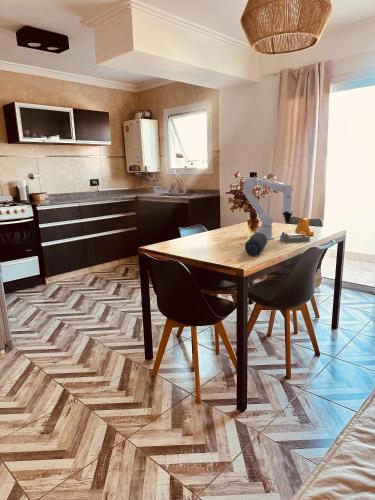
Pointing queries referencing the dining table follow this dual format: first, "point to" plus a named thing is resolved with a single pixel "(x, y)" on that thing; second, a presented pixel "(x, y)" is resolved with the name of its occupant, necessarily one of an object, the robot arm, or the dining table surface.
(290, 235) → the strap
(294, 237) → the base block
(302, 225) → the orange animal figurine
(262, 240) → the portable speaker
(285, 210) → the robot arm
